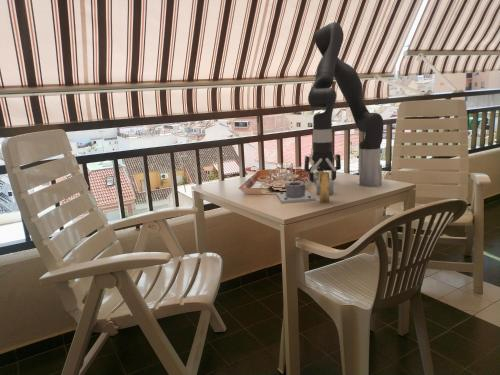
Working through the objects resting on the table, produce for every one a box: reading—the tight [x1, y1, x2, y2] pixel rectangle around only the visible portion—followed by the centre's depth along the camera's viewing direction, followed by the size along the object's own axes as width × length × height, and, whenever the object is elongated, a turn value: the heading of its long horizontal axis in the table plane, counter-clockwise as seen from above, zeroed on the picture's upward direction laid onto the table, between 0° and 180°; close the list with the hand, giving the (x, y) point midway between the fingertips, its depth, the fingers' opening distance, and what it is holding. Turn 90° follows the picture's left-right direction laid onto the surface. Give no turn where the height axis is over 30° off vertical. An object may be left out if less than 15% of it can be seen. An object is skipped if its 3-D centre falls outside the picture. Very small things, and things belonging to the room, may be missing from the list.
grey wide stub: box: [316, 178, 334, 196], centre depth 166 cm, size 7×7×6 cm
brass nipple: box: [319, 171, 330, 204], centre depth 153 cm, size 4×4×12 cm
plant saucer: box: [267, 178, 306, 189], centre depth 181 cm, size 18×18×3 cm
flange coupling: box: [276, 182, 316, 204], centre depth 162 cm, size 14×14×6 cm
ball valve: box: [309, 147, 333, 182], centre depth 190 cm, size 18×8×18 cm, turn 2°
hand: (322, 180), depth 152 cm, fingers open, 8 cm apart
